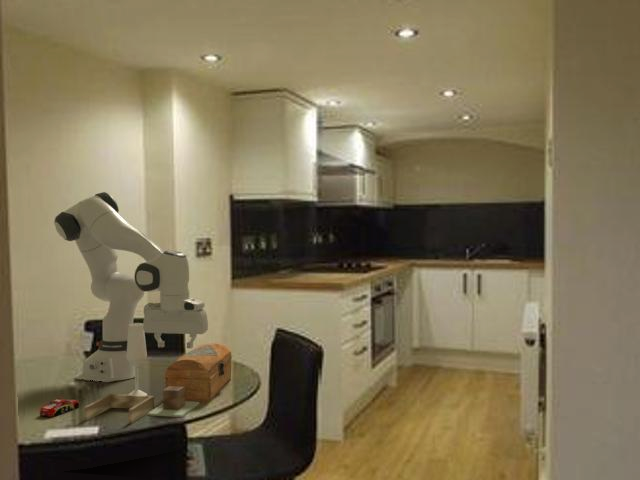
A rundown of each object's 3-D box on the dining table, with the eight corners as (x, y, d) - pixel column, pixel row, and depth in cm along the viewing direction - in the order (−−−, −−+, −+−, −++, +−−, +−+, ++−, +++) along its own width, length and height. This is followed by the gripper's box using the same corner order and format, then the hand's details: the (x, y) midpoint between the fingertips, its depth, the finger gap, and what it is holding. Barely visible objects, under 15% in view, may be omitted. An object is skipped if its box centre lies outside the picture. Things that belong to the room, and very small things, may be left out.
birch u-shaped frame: (84, 420, 183) (84, 407, 183) (109, 406, 197) (109, 393, 197) (132, 423, 180) (132, 409, 180) (154, 408, 194) (154, 396, 194)
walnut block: (163, 409, 192) (163, 390, 192) (169, 404, 197) (169, 385, 197) (178, 410, 191) (178, 390, 191) (184, 405, 196) (184, 386, 196)
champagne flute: (123, 394, 211) (122, 324, 210) (142, 391, 215) (142, 322, 214) (130, 399, 205) (130, 326, 205) (150, 395, 209) (149, 324, 209)
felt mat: (147, 415, 188) (147, 413, 188) (167, 402, 202) (167, 400, 202) (182, 417, 186) (182, 415, 186) (199, 403, 200) (199, 401, 200)
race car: (69, 405, 199) (69, 393, 199) (82, 407, 197) (82, 395, 197) (36, 417, 187) (36, 404, 187) (50, 419, 185) (49, 406, 185)
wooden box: (212, 402, 202) (212, 360, 201) (163, 401, 204) (163, 359, 203) (235, 379, 232) (235, 342, 231) (192, 378, 233) (192, 341, 233)
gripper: (139, 304, 192) (139, 348, 192) (202, 305, 189) (202, 350, 189) (148, 301, 198) (148, 344, 199) (209, 302, 195) (209, 346, 195)
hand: (175, 347), depth 194 cm, fingers open, 8 cm apart
